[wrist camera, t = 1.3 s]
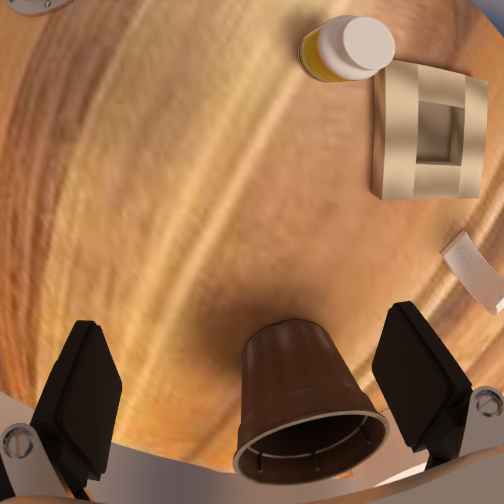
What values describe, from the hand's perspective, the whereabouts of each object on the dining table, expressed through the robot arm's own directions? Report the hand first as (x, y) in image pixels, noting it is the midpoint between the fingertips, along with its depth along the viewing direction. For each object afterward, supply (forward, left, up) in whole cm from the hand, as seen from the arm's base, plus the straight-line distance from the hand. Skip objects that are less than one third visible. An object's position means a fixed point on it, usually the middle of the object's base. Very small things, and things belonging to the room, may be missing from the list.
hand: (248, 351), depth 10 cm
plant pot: (+24, +6, -23) cm, 34 cm away
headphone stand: (+12, +30, -23) cm, 39 cm away
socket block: (-4, +22, -23) cm, 32 cm away
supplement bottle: (-11, +10, -23) cm, 27 cm away
